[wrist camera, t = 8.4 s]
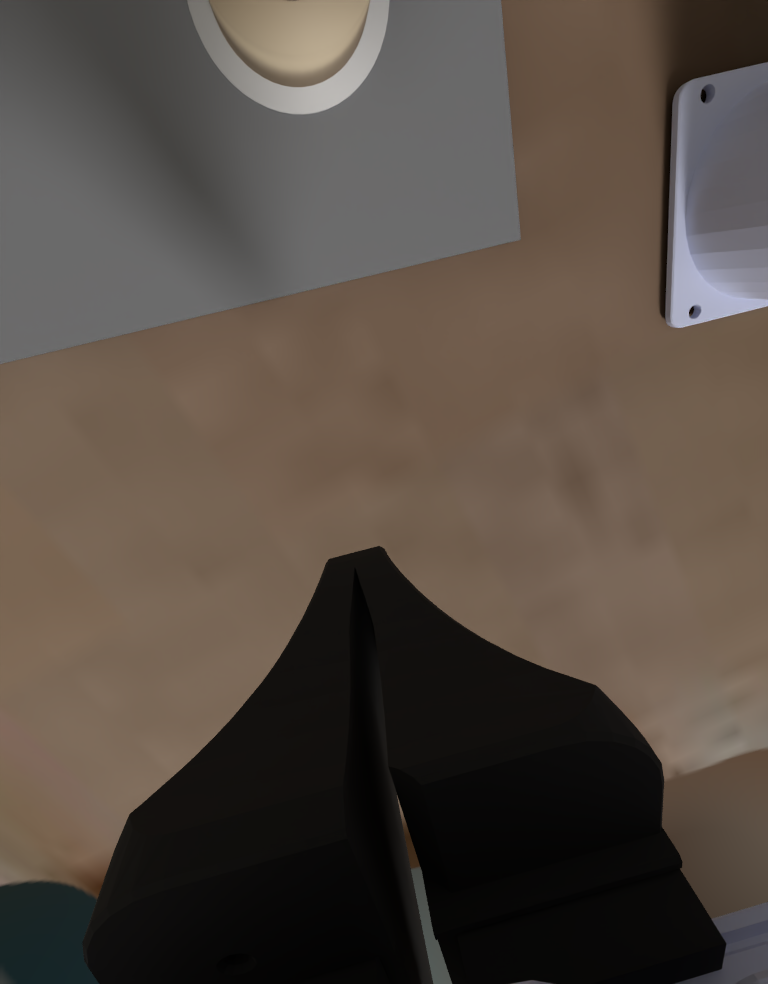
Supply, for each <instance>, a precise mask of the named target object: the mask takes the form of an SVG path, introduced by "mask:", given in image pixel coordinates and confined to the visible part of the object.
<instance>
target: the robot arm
mask: <svg viewBox="0 0 768 984" xmlns="http://www.w3.org/2000/svg"><path fill="white" fill-rule="evenodd" d="M702 89H704V90H705V91H706V96H707V97H706V101H705V103H703V102H702V101H701V97H700V95H701V91H702ZM692 306H694V312H693V314H692V315H691V316H690V317H689V310H690V308H691V307H692ZM766 306H768V62H766V63H761V64H757V65H753V66H748V67H744V68H739V69H735V70H731V71H726V72H722V73H718V74H713V75H709V76H705V77H700V78H696V79H693V80H691V81H688V82H687V83H685V84H683V85H681V86H680V88H679V89H678V90H677V91H676V93H675V95H674V98H673V104H672V133H671V163H670V192H669V221H668V251H667V280H666V309H665V319H666V323H667V324H668V325H669V326H671V327H676V328H682V327H686V326H690V325H694V324H698V323H702V322H706V321H710V320H714V319H718V318H722V317H726V316H730V315H734V314H738V313H742V312H746V311H750V310H754V309H758V308H762V307H766ZM663 789H664V776H663V770H662V763H661V762H660V760H659V759H658V757H657V756H656V754H655V753H654V751H653V750H652V748H651V747H650V745H649V744H648V742H647V741H646V739H645V738H644V737H643V735H642V734H641V733H640V732H639V730H638V729H637V728H636V727H635V725H634V724H633V723H632V722H631V721H630V720H629V719H628V718H627V717H626V716H625V715H624V713H623V712H622V711H621V710H620V709H619V708H618V707H617V706H616V705H615V704H614V703H613V702H612V701H611V700H610V699H609V698H608V697H607V696H606V695H605V694H604V693H603V692H602V691H601V690H600V689H599V688H598V687H597V686H596V685H593V684H591V683H588V682H585V681H582V680H579V679H576V678H573V677H570V676H567V675H564V674H561V673H558V672H555V671H552V670H549V669H546V668H544V667H541V666H539V665H536V664H534V663H532V662H529V661H527V660H525V659H522V658H520V657H518V656H515V655H513V654H512V653H510V652H508V651H506V650H504V649H502V648H500V647H498V646H496V645H494V644H492V643H490V642H488V641H487V640H485V639H483V638H481V637H480V636H478V635H477V634H475V633H473V632H472V631H470V630H469V629H467V628H465V627H464V626H462V625H461V624H460V623H458V622H457V621H455V620H454V619H452V618H451V617H450V616H448V615H447V614H446V613H444V612H443V611H442V610H440V609H439V608H438V607H437V606H436V605H434V604H433V603H432V602H431V601H430V600H428V599H427V598H426V597H425V596H424V595H423V594H422V593H421V592H420V591H419V590H417V589H416V587H415V586H414V585H413V584H412V583H411V582H410V581H409V580H408V579H407V578H406V577H405V576H404V575H403V574H402V573H401V572H400V571H399V569H398V568H397V567H396V566H395V565H394V563H393V562H392V561H391V559H390V558H389V556H388V555H387V553H386V551H385V549H384V548H382V547H380V546H377V547H373V548H370V549H366V550H362V551H358V552H354V553H350V554H347V555H343V556H339V557H335V558H331V559H329V560H328V562H327V563H326V565H325V568H324V570H323V573H322V576H321V578H320V581H319V583H318V586H317V588H316V590H315V593H314V595H313V597H312V599H311V601H310V603H309V605H308V607H307V610H306V612H305V614H304V616H303V618H302V620H301V621H300V623H299V625H298V627H297V629H296V630H295V632H294V634H293V636H292V637H291V639H290V641H289V643H288V645H287V646H286V648H285V649H284V651H283V653H282V654H281V656H280V657H279V659H278V660H277V662H276V663H275V665H274V666H273V668H272V669H271V671H270V672H269V673H268V675H267V676H266V678H265V679H264V680H263V682H262V683H261V684H260V685H259V687H258V688H257V689H256V690H255V691H254V693H253V694H252V695H251V696H250V697H249V699H248V700H247V701H246V702H245V703H244V705H243V706H242V707H241V708H240V709H239V711H238V712H237V713H236V714H235V715H234V717H233V718H232V719H231V720H230V721H229V722H228V723H227V724H226V725H225V726H224V727H223V728H222V729H221V731H220V732H219V733H218V734H217V735H216V736H215V737H214V738H213V739H212V740H211V741H210V742H209V743H208V744H207V745H206V746H205V747H204V748H203V749H202V750H201V751H200V752H199V753H198V754H197V755H196V756H195V757H194V758H193V759H192V760H191V761H190V762H188V763H187V764H186V765H185V766H184V767H183V768H182V769H181V770H180V771H179V772H178V773H176V774H175V775H174V776H173V777H172V778H171V779H170V780H169V781H167V782H166V783H165V784H164V785H163V786H162V787H161V788H159V789H158V790H157V791H156V792H155V793H154V794H153V795H151V796H150V797H149V798H148V799H147V800H146V801H145V802H144V803H142V804H141V805H140V806H139V807H138V808H136V809H135V810H134V811H133V812H132V813H130V814H129V817H128V819H127V822H126V824H125V826H124V829H123V831H122V834H121V836H120V838H119V841H118V843H117V845H116V848H115V850H114V853H113V856H112V859H111V862H110V865H109V868H108V870H107V873H106V876H105V879H104V882H103V885H102V888H101V891H100V894H99V896H98V899H97V902H96V905H95V908H94V911H93V914H92V917H91V920H90V922H89V925H88V928H87V931H86V934H85V937H84V940H83V953H84V960H85V962H86V964H87V966H88V968H89V969H90V971H91V972H92V974H93V975H94V977H95V978H96V979H97V981H98V982H99V983H100V984H433V980H432V975H431V970H430V965H429V960H428V955H427V951H426V945H425V940H424V935H423V930H422V925H421V920H420V914H419V909H418V904H417V899H416V894H415V889H414V884H413V878H412V873H411V868H410V863H409V857H408V852H407V847H406V841H405V836H404V831H403V825H402V820H401V815H400V809H399V804H398V799H399V802H400V805H401V808H402V811H403V814H404V817H405V820H406V823H407V826H408V830H409V833H410V836H411V839H412V842H413V845H414V848H415V851H416V854H417V858H418V861H419V864H420V867H421V870H422V874H423V879H424V884H425V890H426V896H427V901H428V906H429V911H430V917H431V922H432V927H433V932H434V936H435V939H436V940H438V942H439V945H440V948H441V951H442V954H443V957H444V960H445V963H446V966H447V969H448V972H449V975H450V978H451V981H452V984H768V902H766V903H763V904H759V905H756V906H753V907H749V908H746V909H743V910H739V911H736V912H733V913H729V914H726V915H722V916H719V917H716V918H712V919H711V918H710V916H709V915H708V913H707V911H706V910H705V908H704V907H703V905H702V903H701V902H700V900H699V899H698V897H697V895H696V894H695V892H694V891H693V889H692V888H691V886H690V884H689V883H688V881H687V880H686V878H685V877H684V875H683V873H682V872H681V870H680V868H682V860H681V857H680V855H679V853H678V851H677V850H676V848H675V846H674V845H673V843H672V842H671V840H670V839H669V837H668V836H667V834H666V832H665V831H664V829H663V828H662V809H663V808H662V807H663ZM396 792H397V793H396ZM397 795H398V799H397Z"/></svg>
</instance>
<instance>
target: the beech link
mask: <svg viewBox="0 0 768 984" xmlns="http://www.w3.org/2000/svg"><path fill="white" fill-rule="evenodd" d="M209 3H210V6H211V8H212V11H213V14H214V16H215V19H216V21H217V24H218V26H219V28H220V30H221V32H222V34H223V36H224V37H225V39H226V41H227V42H228V44H229V45H230V47H231V48H232V49H233V51H234V52H235V53H236V55H237V56H238V57H239V58H240V59H241V60H242V61H243V62H244V63H245V64H246V65H247V66H248V67H249V68H251V69H252V70H253V71H254V72H256V73H257V74H259V75H260V76H262V77H263V78H265V79H267V80H269V81H271V82H274V83H277V84H280V85H283V86H289V87H307V86H313V85H316V84H319V83H322V82H324V81H325V80H327V79H329V78H331V77H332V76H334V75H335V74H336V73H337V72H339V71H340V70H341V69H342V68H343V67H344V66H345V65H346V63H347V62H348V61H349V59H350V58H351V57H352V55H353V53H354V52H355V50H356V48H357V46H358V44H359V42H360V39H361V36H362V34H363V30H364V27H365V23H366V19H367V14H368V9H369V4H370V0H209Z"/></svg>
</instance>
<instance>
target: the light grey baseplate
mask: <svg viewBox="0 0 768 984" xmlns="http://www.w3.org/2000/svg"><path fill="white" fill-rule="evenodd" d="M517 240H521V237H520V225H519V213H518V201H517V189H516V177H515V164H514V152H513V140H512V128H511V116H510V104H509V92H508V80H507V68H506V55H505V43H504V31H503V19H502V7H501V0H370V4H369V9H368V14H367V19H366V23H365V27H364V30H363V34H362V36H361V39H360V42H359V44H358V46H357V48H356V50H355V52H354V53H353V55H352V57H351V58H350V59H349V61H348V62H347V63H346V65H345V66H344V67H343V68H342V69H341V70H340V71H339V72H337V73H336V74H335V75H334V76H332V77H331V78H329V79H327V80H325V81H324V82H322V83H319V84H316V85H313V86H307V87H289V86H283V85H280V84H277V83H274V82H271V81H269V80H267V79H265V78H263V77H262V76H260V75H259V74H257V73H256V72H254V71H253V70H252V69H251V68H249V67H248V66H247V65H246V64H245V63H244V62H243V61H242V60H241V59H240V58H239V57H238V56H237V55H236V53H235V52H234V51H233V49H232V48H231V47H230V45H229V44H228V42H227V41H226V39H225V37H224V36H223V34H222V32H221V30H220V28H219V26H218V24H217V21H216V19H215V16H214V14H213V11H212V8H211V6H210V3H209V0H0V364H2V363H6V362H10V361H15V360H19V359H23V358H27V357H31V356H35V355H40V354H44V353H48V352H52V351H56V350H61V349H65V348H69V347H73V346H77V345H82V344H86V343H90V342H94V341H98V340H102V339H107V338H111V337H115V336H119V335H123V334H128V333H132V332H136V331H140V330H144V329H149V328H153V327H157V326H161V325H165V324H169V323H174V322H178V321H182V320H186V319H190V318H195V317H199V316H203V315H207V314H211V313H216V312H220V311H224V310H228V309H232V308H236V307H241V306H245V305H249V304H253V303H257V302H262V301H266V300H270V299H274V298H278V297H282V296H287V295H291V294H295V293H299V292H303V291H308V290H312V289H316V288H320V287H324V286H329V285H333V284H337V283H341V282H345V281H349V280H354V279H358V278H362V277H366V276H370V275H375V274H379V273H383V272H387V271H391V270H396V269H400V268H404V267H408V266H412V265H416V264H421V263H425V262H429V261H433V260H437V259H442V258H446V257H450V256H454V255H458V254H462V253H467V252H471V251H475V250H479V249H483V248H488V247H492V246H496V245H500V244H504V243H509V242H513V241H517Z"/></svg>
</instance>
